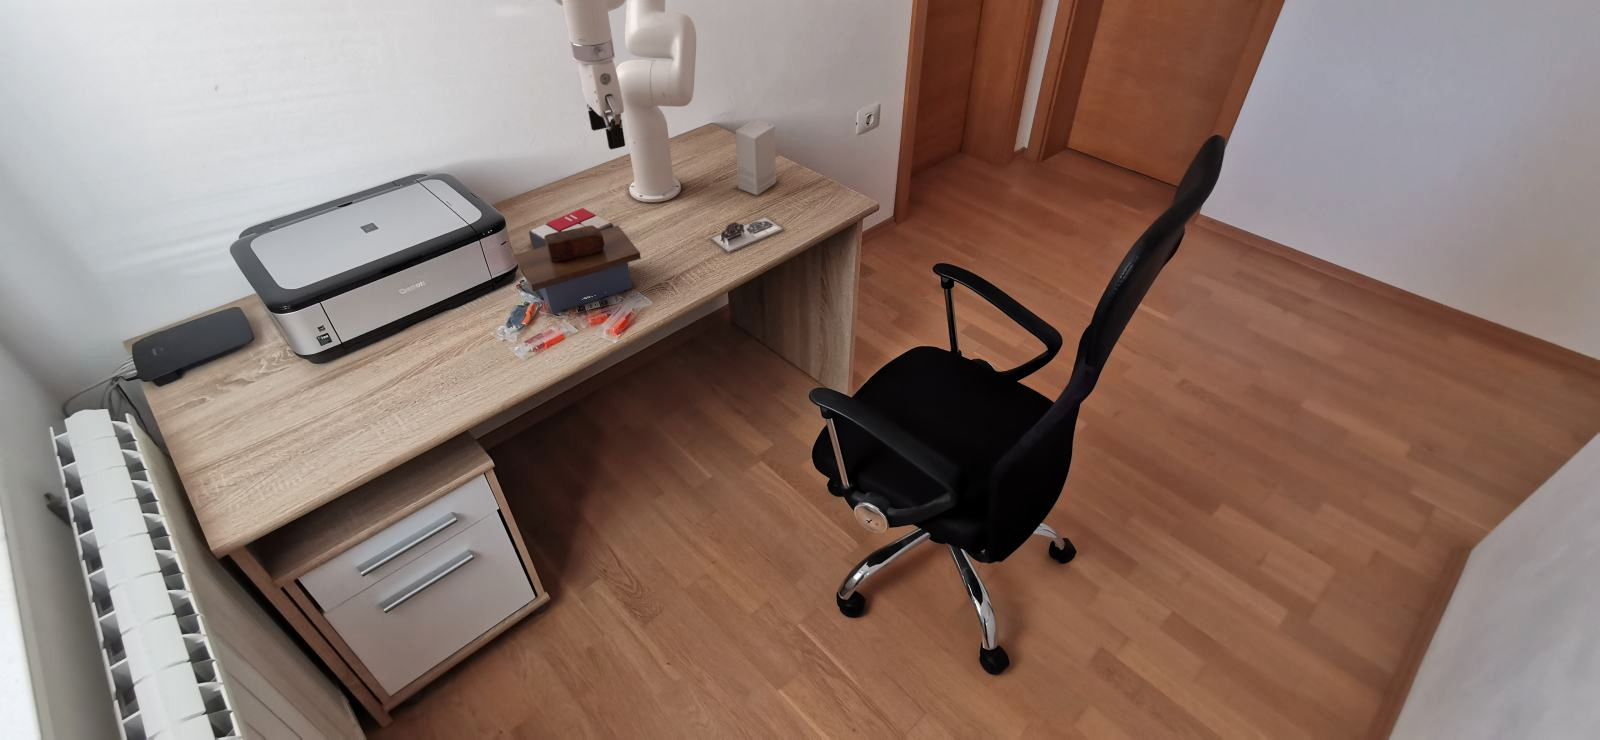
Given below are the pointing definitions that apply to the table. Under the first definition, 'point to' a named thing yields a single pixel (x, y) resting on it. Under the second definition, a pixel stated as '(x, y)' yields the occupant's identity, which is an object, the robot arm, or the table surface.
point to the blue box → (587, 288)
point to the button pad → (567, 225)
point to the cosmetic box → (756, 156)
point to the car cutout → (745, 233)
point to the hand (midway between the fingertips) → (608, 137)
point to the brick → (574, 243)
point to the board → (576, 261)
